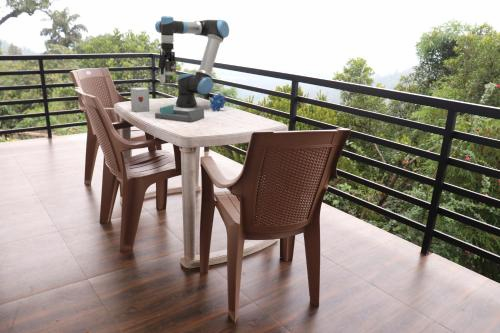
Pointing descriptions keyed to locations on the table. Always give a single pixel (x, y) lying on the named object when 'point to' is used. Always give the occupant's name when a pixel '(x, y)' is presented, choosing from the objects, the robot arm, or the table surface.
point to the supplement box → (140, 99)
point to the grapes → (217, 102)
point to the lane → (183, 115)
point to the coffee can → (169, 73)
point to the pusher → (167, 109)
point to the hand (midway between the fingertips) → (167, 79)
